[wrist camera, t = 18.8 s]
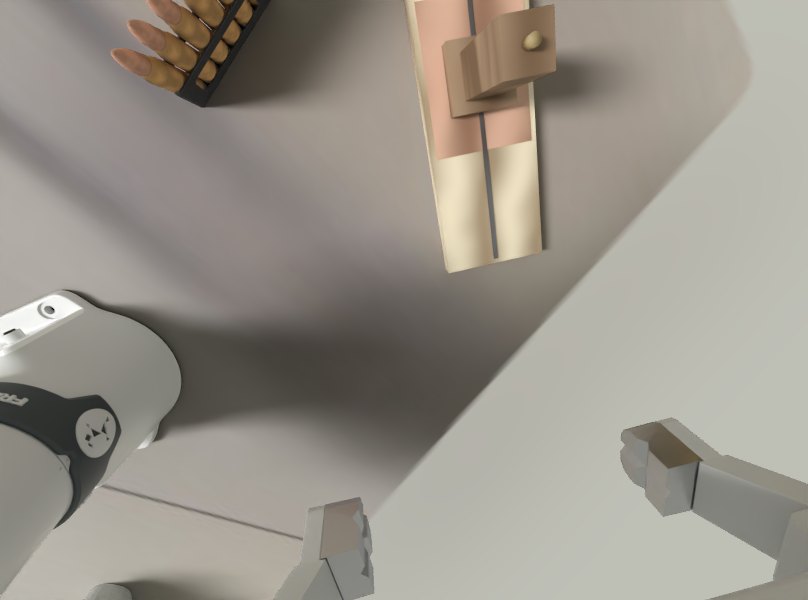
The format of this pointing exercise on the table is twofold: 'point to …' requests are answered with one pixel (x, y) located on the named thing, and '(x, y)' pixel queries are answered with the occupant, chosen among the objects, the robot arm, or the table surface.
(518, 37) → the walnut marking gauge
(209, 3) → the ammunition clip
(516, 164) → the maple board
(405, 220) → the table surface
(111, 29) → the table surface
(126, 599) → the house plant
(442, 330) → the table surface
